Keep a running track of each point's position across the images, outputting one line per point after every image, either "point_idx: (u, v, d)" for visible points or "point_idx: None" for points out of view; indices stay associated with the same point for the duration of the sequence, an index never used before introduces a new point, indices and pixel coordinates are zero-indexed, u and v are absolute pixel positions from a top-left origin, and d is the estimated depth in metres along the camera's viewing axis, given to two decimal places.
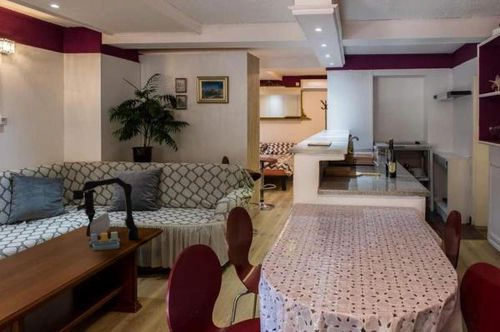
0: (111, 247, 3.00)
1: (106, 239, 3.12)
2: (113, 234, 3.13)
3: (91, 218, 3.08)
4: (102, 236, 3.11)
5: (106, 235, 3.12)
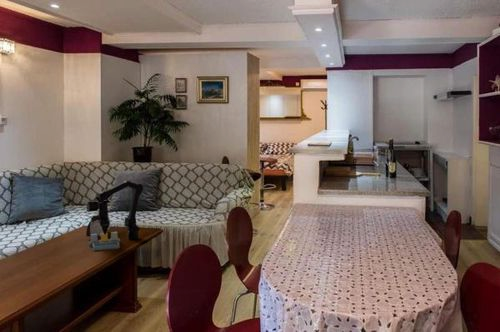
0: (111, 247, 3.00)
1: (106, 239, 3.12)
2: (113, 234, 3.13)
3: (105, 229, 3.07)
4: (102, 236, 3.11)
5: (106, 235, 3.12)
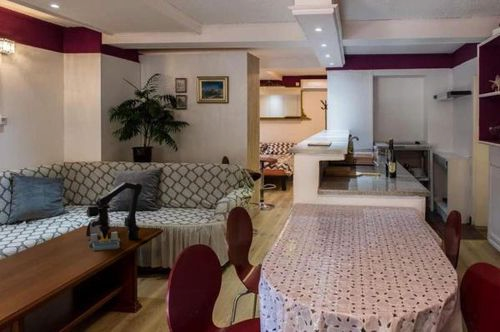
0: (111, 247, 3.00)
1: (106, 239, 3.12)
2: (113, 234, 3.13)
3: (105, 233, 3.10)
4: (102, 236, 3.11)
5: None
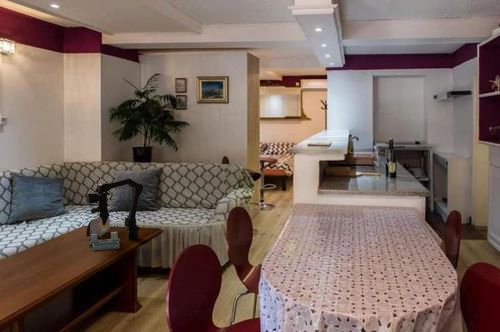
0: (111, 247, 3.00)
1: (106, 226, 3.10)
2: (113, 234, 3.13)
3: (105, 220, 3.09)
4: (101, 223, 3.09)
5: (106, 222, 3.10)
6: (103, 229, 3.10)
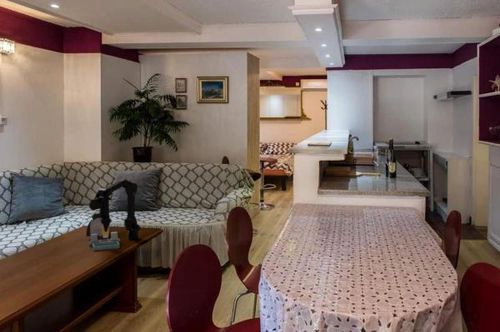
0: (111, 247, 3.00)
1: (107, 232, 3.01)
2: (113, 234, 3.13)
3: (106, 226, 2.99)
4: (103, 229, 3.00)
5: None
6: (105, 235, 3.01)
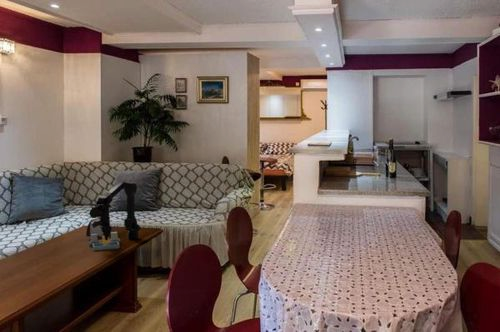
0: (111, 247, 3.00)
1: (108, 242, 3.02)
2: (113, 234, 3.13)
3: (107, 235, 2.98)
4: (103, 239, 3.01)
5: (108, 238, 3.02)
6: (105, 245, 3.02)
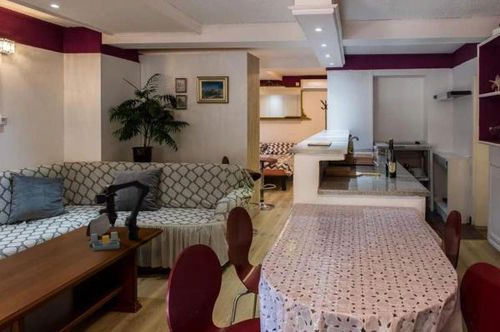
0: (111, 247, 3.00)
1: (108, 242, 3.02)
2: (113, 234, 3.13)
3: (113, 222, 3.10)
4: (103, 239, 3.00)
5: (108, 238, 3.01)
6: (105, 245, 3.02)
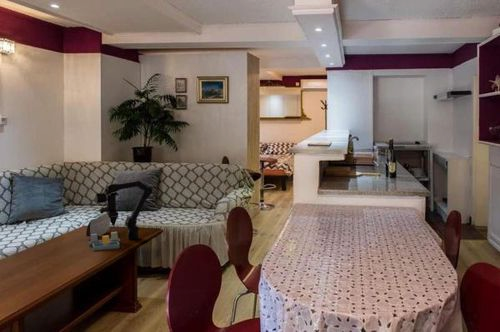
0: (111, 247, 3.00)
1: (108, 242, 3.02)
2: (113, 234, 3.13)
3: (114, 221, 3.12)
4: (103, 239, 3.00)
5: (108, 238, 3.01)
6: (105, 245, 3.02)
